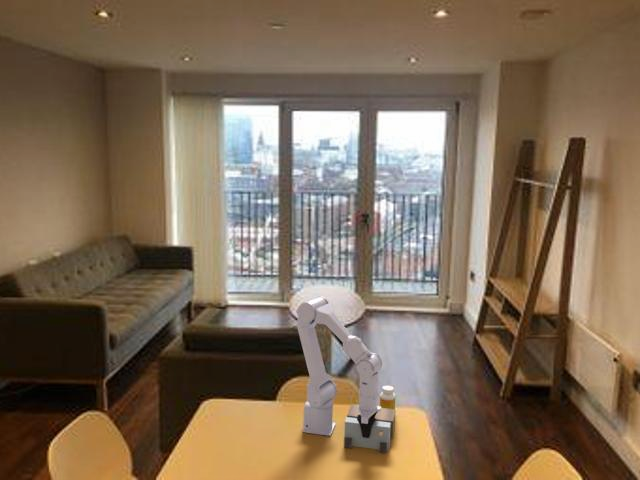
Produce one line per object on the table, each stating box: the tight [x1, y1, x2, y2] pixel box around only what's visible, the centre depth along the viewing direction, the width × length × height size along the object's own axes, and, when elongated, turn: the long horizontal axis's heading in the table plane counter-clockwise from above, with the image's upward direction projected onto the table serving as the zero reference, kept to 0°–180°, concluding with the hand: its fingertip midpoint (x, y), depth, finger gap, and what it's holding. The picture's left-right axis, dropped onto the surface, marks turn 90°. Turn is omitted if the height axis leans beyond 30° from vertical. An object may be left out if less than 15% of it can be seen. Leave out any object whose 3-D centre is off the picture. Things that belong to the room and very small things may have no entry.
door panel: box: [343, 416, 391, 452], centre depth 172 cm, size 14×4×8 cm, turn 77°
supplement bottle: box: [379, 385, 396, 410], centre depth 193 cm, size 5×5×10 cm
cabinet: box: [344, 403, 397, 455], centre depth 178 cm, size 15×17×6 cm
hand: (367, 433), depth 173 cm, fingers open, 4 cm apart
